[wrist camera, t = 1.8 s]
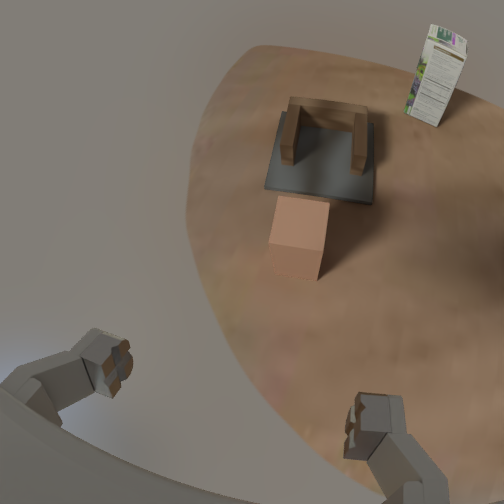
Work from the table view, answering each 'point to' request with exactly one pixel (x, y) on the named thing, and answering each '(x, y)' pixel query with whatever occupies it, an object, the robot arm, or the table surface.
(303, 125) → the stop cradle
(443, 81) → the syrup box
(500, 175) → the table surface
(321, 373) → the table surface
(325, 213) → the block
